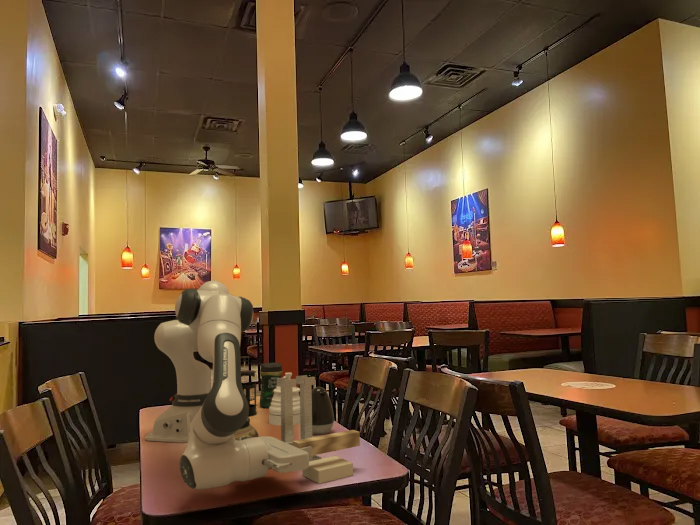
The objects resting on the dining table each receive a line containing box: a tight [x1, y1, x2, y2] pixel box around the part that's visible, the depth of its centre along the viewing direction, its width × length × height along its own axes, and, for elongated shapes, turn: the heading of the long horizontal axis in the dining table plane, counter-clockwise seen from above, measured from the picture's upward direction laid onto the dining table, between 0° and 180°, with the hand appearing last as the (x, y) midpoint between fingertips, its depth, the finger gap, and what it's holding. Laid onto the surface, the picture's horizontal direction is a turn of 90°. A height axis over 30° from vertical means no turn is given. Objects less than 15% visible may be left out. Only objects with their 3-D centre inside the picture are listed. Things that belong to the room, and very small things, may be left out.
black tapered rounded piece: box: [311, 386, 335, 435], centre depth 174 cm, size 10×10×15 cm
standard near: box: [277, 377, 297, 443], centre depth 141 cm, size 6×6×23 cm
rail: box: [293, 429, 361, 456], centre depth 130 cm, size 18×3×4 cm, turn 125°
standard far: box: [295, 374, 323, 462], centre depth 144 cm, size 6×6×23 cm
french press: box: [240, 355, 257, 418], centre depth 208 cm, size 12×9×23 cm
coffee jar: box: [259, 362, 283, 409], centre depth 223 cm, size 10×8×19 cm
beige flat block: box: [301, 455, 354, 485], centre depth 130 cm, size 10×8×3 cm
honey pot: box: [268, 372, 300, 427], centre depth 193 cm, size 13×13×18 cm
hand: (306, 447), depth 127 cm, fingers closed on rail, 3 cm apart
